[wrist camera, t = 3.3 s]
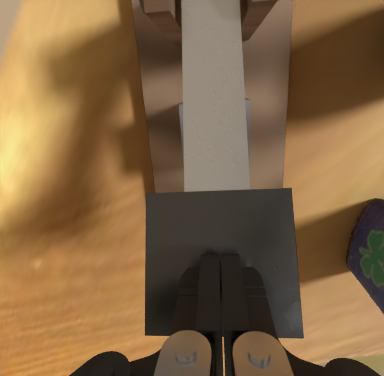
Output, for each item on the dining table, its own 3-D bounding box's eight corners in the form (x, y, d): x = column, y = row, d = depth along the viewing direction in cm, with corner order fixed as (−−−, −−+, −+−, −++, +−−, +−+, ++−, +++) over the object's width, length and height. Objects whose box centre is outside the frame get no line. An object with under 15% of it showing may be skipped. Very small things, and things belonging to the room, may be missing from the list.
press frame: (134, -14, 23) (50, -118, 11) (289, -32, 22) (378, -169, 10) (163, 231, 31) (133, 317, 20) (277, 229, 30) (316, 319, 18)
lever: (156, -15, 16) (148, -49, 14) (264, -27, 16) (271, -64, 14) (156, 319, 13) (145, 335, 11) (290, 321, 12) (303, 338, 10)
